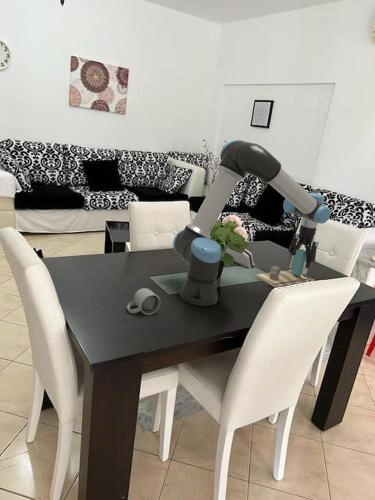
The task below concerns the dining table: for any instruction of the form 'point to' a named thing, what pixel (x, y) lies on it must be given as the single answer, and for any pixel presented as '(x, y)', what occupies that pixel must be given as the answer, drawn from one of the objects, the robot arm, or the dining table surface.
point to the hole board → (282, 277)
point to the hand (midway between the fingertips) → (297, 270)
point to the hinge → (242, 257)
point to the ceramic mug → (145, 302)
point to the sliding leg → (299, 262)
